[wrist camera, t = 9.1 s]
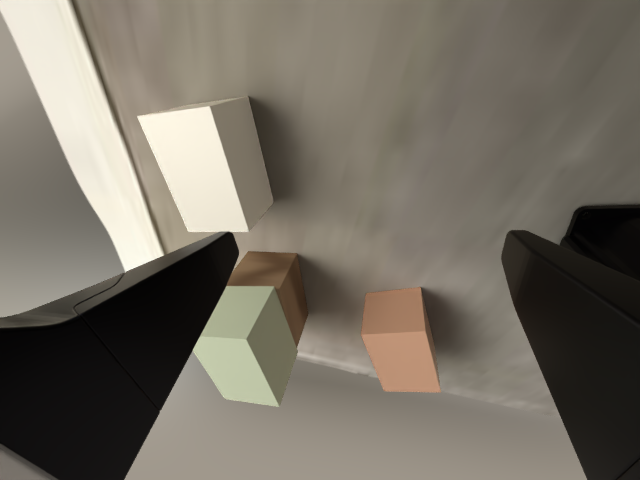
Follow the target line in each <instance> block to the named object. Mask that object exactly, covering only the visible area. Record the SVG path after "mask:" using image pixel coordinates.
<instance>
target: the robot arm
mask: <svg viewBox="0 0 640 480" xmlns="http://www.w3.org/2000/svg"><path fill="white" fill-rule="evenodd" d="M587 212H588V214H587V215H585V216H582V215H583V214H584V213H587ZM238 256H239V249H238V247H237V244H236V241H235V238H234V235H233V234H232V232H229V231H221V232H218V233H216V234H213V235H211V236H209V237H206V238H204V239H202V240H199V241H197V242H195V243H192V244H190V245H188V246H185V247H183V248H181V249H178V250H176V251H174V252H171V253H169V254H167V255H164V256H162V257H160V258H157V259H155V260H153V261H150V262H148V263H146V264H143V265H141V266H138V267H136V268H134V269H131V270H129V271H127V272H126V273H122V274H120V275H118V276H115V277H113V278H110V279H108V280H106V281H103V282H101V283H98V284H96V285H93V286H91V287H89V288H86V289H83V290H81V291H78V292H76V293H73V294H71V295H68V296H65V297H63V298H60V299H58V300H55V301H53V302H50V303H47V304H45V305H42V306H39V307H37V308H35V309H32V310H29V311H26V312H23V313H20V314H16V315H12V316H7V317H1V318H0V480H124V479H125V477H126V475H127V473H128V471H129V469H130V468H131V466H132V464H133V462H134V460H135V458H136V456H137V454H138V453H139V451H140V449H141V447H142V445H143V443H144V441H145V439H146V437H147V435H148V434H149V432H150V429H151V428H152V426H153V424H154V422H155V420H156V419H157V417H158V415H159V413H160V410H161V409H162V407H163V405H164V403H165V401H166V399H167V398H168V396H169V394H170V392H171V390H172V388H173V386H174V384H175V383H176V381H177V379H178V377H179V375H180V373H181V371H182V369H183V368H184V365H185V364H186V362H187V360H188V358H189V356H190V354H191V353H192V351H193V349H194V347H195V345H196V343H197V341H198V339H199V338H200V336H201V334H202V332H203V330H204V328H205V326H206V324H207V322H208V321H209V319H210V317H211V315H212V313H213V311H214V309H215V307H216V306H217V304H218V302H219V300H220V298H221V296H222V294H223V292H224V290H225V288H226V286H227V284H228V281H229V279H230V276H231V274H232V271H233V269H234V266H235V264H236V261H237V259H238ZM501 259H502V264H503V268H504V272H505V275H506V279H507V283H508V287H509V290H510V294H511V298H512V301H513V304H514V307H515V310H516V312H517V315H518V317H519V319H520V322H521V324H522V327H523V329H524V331H525V334H526V336H527V338H528V341H529V343H530V345H531V348H532V350H533V353H534V355H535V357H536V360H537V362H538V364H539V367H540V369H541V371H542V374H543V376H544V379H545V381H546V383H547V386H548V388H549V390H550V393H551V395H552V397H553V400H554V402H555V404H556V407H557V409H558V412H559V414H560V416H561V419H562V421H563V423H564V426H565V428H566V430H567V433H568V435H569V438H570V440H571V442H572V445H573V447H574V449H575V452H576V454H577V456H578V459H579V461H580V463H581V466H582V468H583V471H584V473H585V475H586V478H587V480H640V205H610V206H583V207H580V208H578V209H577V210H576V211H575V212H574V214H573V217H572V220H571V222H570V225H569V227H568V230H567V233H566V235H565V236H564V237H563V238H562V240H561V243H560V245H557V244H555V243H553V242H551V241H549V240H546V239H544V238H542V237H540V236H537V235H535V234H533V233H531V232H529V231H526V230H511V231H509V232H508V233H507V236H506V239H505V243H504V247H503V251H502V257H501Z"/></svg>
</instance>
